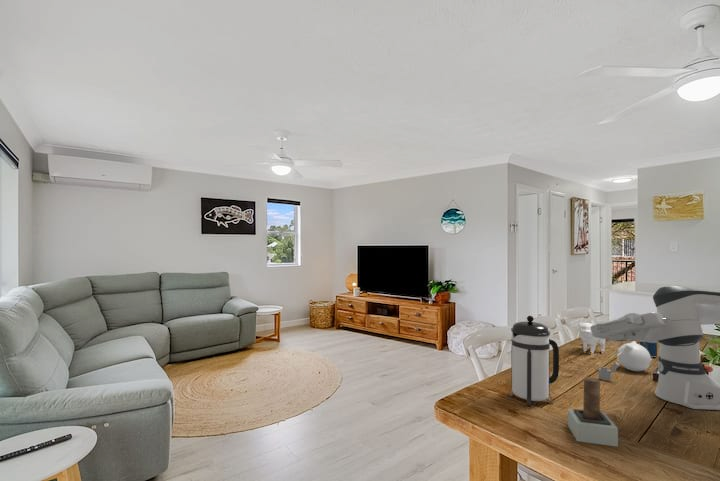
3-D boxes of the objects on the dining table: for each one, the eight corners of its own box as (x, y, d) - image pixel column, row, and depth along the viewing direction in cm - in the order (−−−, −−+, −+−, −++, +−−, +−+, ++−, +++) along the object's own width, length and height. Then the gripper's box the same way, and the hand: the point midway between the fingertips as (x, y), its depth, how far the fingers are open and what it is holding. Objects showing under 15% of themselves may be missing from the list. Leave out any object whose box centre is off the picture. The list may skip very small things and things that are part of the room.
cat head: (648, 378, 158) (648, 349, 158) (612, 370, 167) (612, 343, 168) (656, 371, 167) (656, 343, 168) (622, 364, 177) (622, 338, 178)
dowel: (598, 434, 109) (599, 379, 109) (599, 440, 106) (600, 383, 106) (582, 430, 111) (583, 376, 111) (583, 436, 108) (584, 380, 108)
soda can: (656, 355, 192) (655, 332, 192) (658, 359, 186) (657, 335, 186) (639, 353, 195) (639, 330, 196) (640, 356, 190) (640, 333, 190)
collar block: (604, 429, 112) (604, 410, 112) (618, 446, 102) (617, 426, 102) (567, 425, 115) (567, 406, 115) (577, 441, 105) (577, 421, 105)
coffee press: (555, 412, 123) (555, 321, 124) (504, 401, 132) (504, 316, 132) (559, 395, 138) (559, 314, 138) (513, 386, 146) (513, 310, 147)
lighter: (598, 379, 156) (598, 360, 156) (598, 378, 157) (598, 359, 157) (619, 383, 152) (619, 363, 152) (619, 381, 153) (619, 362, 153)
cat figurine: (586, 346, 209) (586, 316, 210) (608, 350, 202) (608, 319, 202) (573, 355, 192) (573, 322, 192) (596, 359, 184) (596, 325, 184)
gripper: (676, 330, 112) (652, 326, 106) (608, 342, 128) (584, 340, 122) (668, 309, 115) (644, 304, 109) (602, 324, 131) (578, 320, 125)
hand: (612, 323), depth 115 cm, fingers open, 8 cm apart
